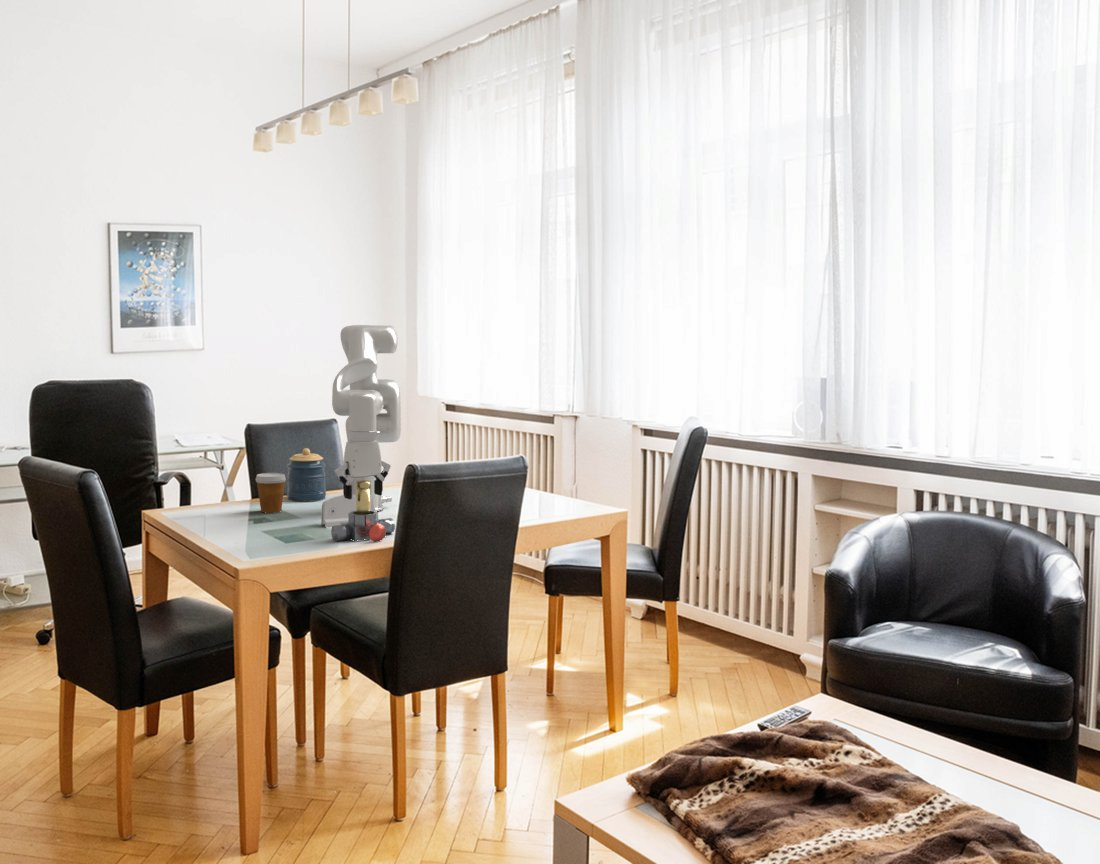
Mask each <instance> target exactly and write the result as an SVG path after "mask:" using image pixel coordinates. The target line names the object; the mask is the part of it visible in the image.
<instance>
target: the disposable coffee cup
mask: <svg viewBox="0 0 1100 864" xmlns="http://www.w3.org/2000/svg"><path fill="white" fill-rule="evenodd" d="M285 475H286V474H285V473H282V472H280V473H279V472H266V473H265V472H263V473H258V474H256V477H255V479H254V480H255V482H256V485H257V492H258V499H259V507H260V512H261V513H262V512H266V513H265V514H267V513H273V514H275V513H274V512H279V513H281V512H282V509H283V508H282V507H283V500H284V492H285V491H284V490H285V483H286V480H287V478H286V476H285ZM280 511H281V512H280Z"/></svg>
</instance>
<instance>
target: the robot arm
mask: <svg viewBox="0 0 1100 864" xmlns="http://www.w3.org/2000/svg"><path fill="white" fill-rule="evenodd" d="M339 337H340V341H341V342H340V343H341V346H342V349H343V352H344V354H345V356H346V358H347V359H346V360H347V362H348V363H347V364H346V365H345V366H344V367H342V368H341V369H340V371H338V372H337V375H336V376H335V377H334V380H333V383H332V388H331V389H332V390H331V391H332V392H331V393H332V395H331V399H332V400H331V406H332V409H333V412H334V414H336V415H338V416H343V417H347V418H346V420H345V432H346V438H347V439H346V440H347V441H346V442H345V446H344V447H345V448H344V451H343V452H344V455H343V463H342V464H341V465H340V466H339V467H337V468H336V469H334V474H335V476H336V477H337V480H338V481H339V482H340V483H341V485H343V487H342V488H343V489H342V490H343V491H342V492H343V494H342V495H344V498H346V499H352V495H356V481H359V480H369V481H370V492H371V498H372V500H373V504H374V508H375V511H379V510H382V509H383V508H384V507H385V506H384V505H383V504H384V503H391V502H392V501H393V498H392V496H391V495H388V496H383V491H384V490H383V489H384V488H383V485H384V484H383V482H384V481H385V479H386V477H388V475H389V472H390V469H391V466H392V465H391V464H389V463H387V462H385V461H383V460H382V456H381V453H382V452H381V448H380V443H395V442H397V441H399V439H400V437H401V432H402V431H401V430H402V427H401V426H402V425H401V424H402V423H401V419H402V418H401V417H402V416H401V415H402V414H401V411H402V410H401V391H400V386H399V383H398V382H397V381H396V380H394V379H386V378H385V379H379V378H378V377H377V369H378V354H395V352H396V351H397V349H398V332H397V330H396V328H395V327H394V326H393V325H369V324H352V325H347V326H344V327H343V328H341V331H340V336H339ZM348 386H349V389H345V388H346V387H348ZM382 410H385V411H386V412H383V413H382V412H381V411H382ZM382 468H383V470H382ZM383 510H384V509H383ZM383 510H382V511H383ZM379 512H380V511H379Z"/></svg>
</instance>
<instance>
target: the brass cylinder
mask: <svg viewBox="0 0 1100 864" xmlns="http://www.w3.org/2000/svg"><path fill="white" fill-rule="evenodd" d="M367 514H371V492H370V481H369V480H359V481H356V515H367Z"/></svg>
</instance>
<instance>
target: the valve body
mask: <svg viewBox="0 0 1100 864" xmlns="http://www.w3.org/2000/svg"><path fill="white" fill-rule="evenodd" d="M348 520H349V522H345V523H341V525H335V526H333V527H332V528H330V534H331V539H333V541H334V540H335V541H334V542H339V541H340V540H342V541H347V540H346V539H352V540H354V541H357V540H364V539H371V540H370V541H372V542H375V541H379V542H381V541H383V539H384V538H386V537H387V534H386V533H390V534H393V533H394V532H395V530H396V525H395V521H394V520H393V518H391V517H387V518H380V519H379V512H376V511H372V510H371V514H367V515H356V511H351V512H350V513H348ZM392 532H393V533H392ZM385 536H386V537H385ZM380 540H381V541H380ZM354 541H353V542H354ZM364 541H365V540H364ZM340 542H341V541H340ZM357 542H358V541H357Z"/></svg>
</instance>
